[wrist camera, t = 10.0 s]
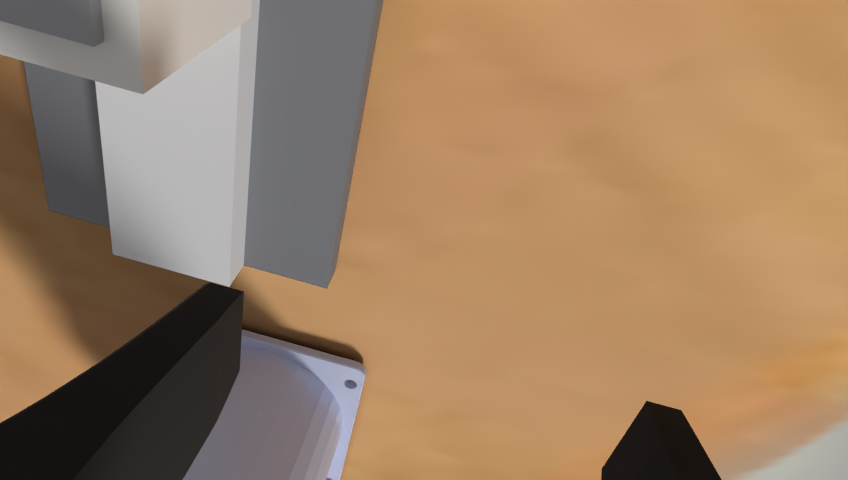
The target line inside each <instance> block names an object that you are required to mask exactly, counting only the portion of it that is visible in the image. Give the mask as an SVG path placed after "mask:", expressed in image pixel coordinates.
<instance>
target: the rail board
mask: <svg viewBox="0 0 848 480" xmlns="http://www.w3.org/2000/svg"><path fill="white" fill-rule="evenodd" d="M382 3H383V0H252V7H251V18H250V19H248V20H247V21H246V22H244V23H243V24H241V25H240V26H239V27H237V28H236V29H234V30H233V31H232V32H230V33H229V34H227V35H226V36H225V37H223V38H222V39H220V40H219V41H218V42H216V43H215V44H213V45H212V46H211V47H209V48H208V49H206V50H205V51H204V52H202V53H201V54H199V55H198V56H197V57H195V58H194V59H192V60H191V61H189V62H188V63H187V64H185V65H184V66H182V67H181V68H180V69H178V70H177V71H175V72H174V73H173V74H171V75H170V76H168V77H167V78H166V79H164V80H163V81H161V82H160V83H159V84H157V85H156V86H154V87H153V88H152V89H150V90H149V91H147V92H146V93H145V94H140V93H136V92H132V91H129V90H125V89H122V88H118V87H115V86H111V85H107V84H104V83H100V82H97V81H93V80H90V79H86V78H82V77H79V76H75V75H72V74H68V73H65V72H61V71H57V70H54V69H50V68H47V67H43V66H40V65H36V64H32V63H29V62H25V61H24V67H25V73H26V79H27V85H28V91H29V96H30V102H31V108H32V114H33V120H34V126H35V131H36V137H37V143H38V149H39V155H40V161H41V166H42V172H43V178H44V184H45V190H46V196H47V201H48V207H49V211H52V212H56V213H59V214H63V215H66V216H70V217H74V218H77V219H81V220H84V221H88V222H91V223H95V224H99V225H102V226H106V227H109V228H110V232H111V242H112V251H113V254H114V255H117V256H121V257H124V258H128V259H131V260H135V261H139V262H142V263H146V264H149V265H153V266H156V267H160V268H164V269H167V270H171V271H174V272H178V273H181V274H185V275H188V276H192V277H196V278H199V279H203V280H206V281H210V282H213V283H217V284H221V285H224V286H228V287H230V285H231V284H232V282H233V281H234V279H235V277H236V276H237V274H238V273H239V271H240V270H241V268H242V267H243V265H245V266H248V267H252V268H255V269H259V270H262V271H266V272H270V273H273V274H277V275H280V276H284V277H287V278H291V279H295V280H298V281H302V282H305V283H309V284H312V285H316V286H319V287H323V288H328V285H329V283H330V281H331V279H332V277H333V275H334V272H335V269H336V263H337V257H338V252H339V246H340V240H341V235H342V229H343V223H344V218H345V212H346V207H347V201H348V195H349V190H350V184H351V178H352V173H353V167H354V161H355V156H356V150H357V144H358V139H359V133H360V128H361V122H362V116H363V111H364V105H365V99H366V94H367V88H368V82H369V77H370V71H371V65H372V60H373V54H374V49H375V43H376V37H377V32H378V26H379V20H380V15H381V9H382Z"/></svg>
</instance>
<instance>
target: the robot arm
mask: <svg viewBox="0 0 848 480" xmlns="http://www.w3.org/2000/svg"><path fill="white" fill-rule="evenodd" d="M243 294H244V292H243V291H239V290H236V289H232V288H228V287H225V286H221V285H217V284H213V283H208V284H206V285H204V286H203V287H201V288H200V289H199V290H197V291H196V292H195V293H194V294H192V295H191V296H190V297H188V298H187V299H186V300H184V301H183V302H182V303H181V304H179V305H178V306H177V307H175V308H174V309H173V310H171V311H170V312H169V313H167V314H166V315H165V316H163V317H162V318H161V319H159V320H158V321H157V322H155V323H154V324H153V325H151V326H150V327H149V328H147V329H146V330H144V331H143V332H142V333H140V334H139V335H138V336H136V337H135V338H133V339H132V340H130V341H129V342H128V343H126V344H125V345H123V346H122V347H120V348H119V349H118V350H116V351H115V352H113V353H112V354H110V355H109V356H108V357H106V358H105V359H103V360H102V361H100V362H99V363H97V364H96V365H94V366H93V367H91V368H90V369H88V370H87V371H85V372H84V373H82V374H80V375H79V376H77V377H76V378H74V379H73V380H71V381H69V382H68V383H66V384H65V385H63V386H62V387H60V388H58V389H57V390H55V391H54V392H52V393H51V394H49V395H47V396H46V397H44V398H43V399H41V400H39V401H38V402H36V403H34V404H32V405H31V406H29V407H27V408H26V409H24V410H22V411H21V412H19V413H17V414H15V415H14V416H12V417H10V418H8V419H7V420H5V421H3V422H1V423H0V480H340V478H341V474H342V470H343V466H344V462H345V458H346V454H347V450H348V446H349V442H350V438H351V434H352V430H353V426H354V422H355V418H356V414H357V410H358V406H359V402H360V398H361V394H362V390H363V386H364V382H365V378H366V374H367V370H366V368H365V366H364V365H362V364H361V363H359V362H357V361H354V360H350V359H346V358H343V357H339V356H336V355H332V354H329V353H325V352H321V351H318V350H314V349H311V348H307V347H304V346H300V345H297V344H293V343H289V342H286V341H282V340H279V339H275V338H272V337H268V336H265V335H261V334H257V333H254V332H250V331H247V330H243V329H242V315H243ZM350 380H352V381H350ZM601 480H721V478H720V476H719V475H718V473H717V471H716V469H715V468H714V466H713V464H712V463H711V461H710V459H709V457H708V456H707V454H706V452H705V450H704V449H703V447H702V445H701V443H700V442H699V440H698V438H697V436H696V435H695V433H694V431H693V429H692V428H691V426H690V424H689V423H688V421H687V419H686V418H685V416H684V414H683V413H682V411H681V410H678V409H674V408H671V407H667V406H663V405H660V404H656V403H652V402H649V401H646V403H645V404H644V406H643V407H642V409H641V410H640V412H639V413H638V415H637V416H636V418H635V419H634V421H633V423H632V424H631V426H630V427H629V429H628V430H627V432H626V433H625V435H624V436H623V438H622V439H621V441H620V442H619V444H618V445H617V447H616V448H615V450H614V451H613V453H612V454H611V456H610V457H609V459H608V460H607V462H606V463H605V465H604V466H603V468H602V479H601Z"/></svg>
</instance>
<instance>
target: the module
mask: <svg viewBox="0 0 848 480" xmlns="http://www.w3.org/2000/svg"><path fill="white" fill-rule="evenodd" d="M251 7H252V0H0V55H4V56H7V57H11V58H15V59H18V60H22V61H25V62H29V63H32V64H36V65H40V66H43V67H47V68H50V69H54V70H57V71H61V72H65V73H68V74H72V75H75V76H79V77H82V78H86V79H90V80H93V81H97V82H100V83H104V84H107V85H111V86H115V87H118V88H122V89H125V90H129V91H132V92H136V93H140V94H145V93H146V92H147V91H149V90H150V89H152V88H153V87H154V86H156V85H157V84H159V83H160V82H161V81H163V80H164V79H166V78H167V77H168V76H170V75H171V74H173V73H174V72H175V71H177V70H178V69H180V68H181V67H182V66H184V65H185V64H187V63H188V62H189V61H191V60H192V59H194V58H195V57H197V56H198V55H199V54H201V53H202V52H204V51H205V50H206V49H208V48H209V47H211V46H212V45H213V44H215V43H216V42H218V41H219V40H220V39H222V38H223V37H225V36H226V35H227V34H229V33H230V32H232V31H233V30H234V29H236V28H237V27H239V26H240V25H241V24H243V23H244V22H246V21H247V20H248V19H250V18H251Z"/></svg>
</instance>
